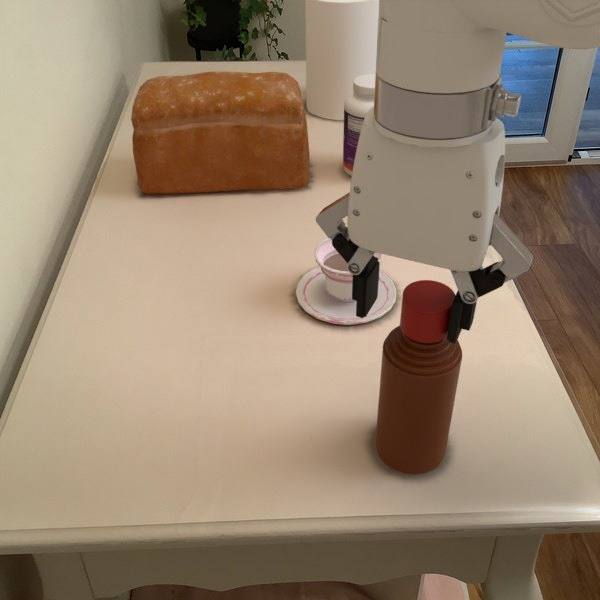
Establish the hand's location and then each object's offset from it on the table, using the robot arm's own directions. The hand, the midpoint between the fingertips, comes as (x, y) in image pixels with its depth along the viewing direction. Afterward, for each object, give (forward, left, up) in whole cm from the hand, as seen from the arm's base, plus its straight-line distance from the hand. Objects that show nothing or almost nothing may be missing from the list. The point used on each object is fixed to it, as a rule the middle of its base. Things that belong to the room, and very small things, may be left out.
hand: (410, 318), depth 53 cm
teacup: (+13, -19, -15) cm, 28 cm away
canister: (+36, -73, -15) cm, 83 cm away
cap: (-1, 0, 0) cm, 1 cm away
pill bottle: (+22, -50, -15) cm, 57 cm away
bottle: (-1, 0, -15) cm, 15 cm away
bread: (+42, -40, -15) cm, 60 cm away
